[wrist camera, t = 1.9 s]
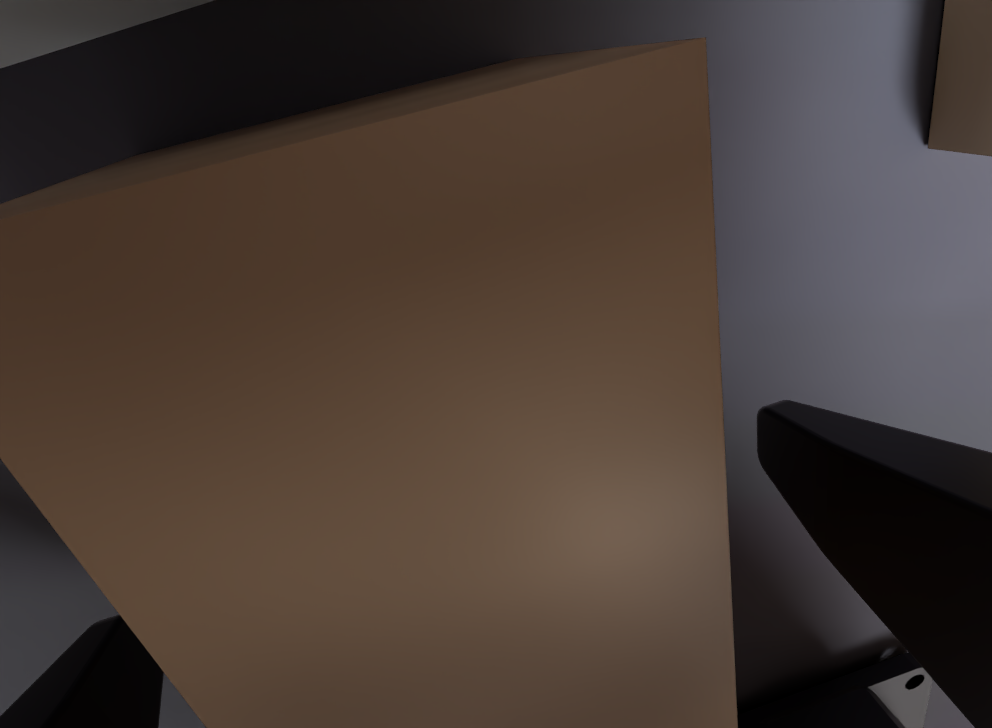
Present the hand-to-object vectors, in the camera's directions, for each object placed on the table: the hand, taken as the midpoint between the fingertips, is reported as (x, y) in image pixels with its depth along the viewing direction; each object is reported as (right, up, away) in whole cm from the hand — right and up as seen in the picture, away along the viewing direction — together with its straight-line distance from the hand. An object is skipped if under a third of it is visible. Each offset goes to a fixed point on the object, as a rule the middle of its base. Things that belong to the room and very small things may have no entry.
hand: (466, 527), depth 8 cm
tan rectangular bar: (0, +1, +1) cm, 2 cm away
